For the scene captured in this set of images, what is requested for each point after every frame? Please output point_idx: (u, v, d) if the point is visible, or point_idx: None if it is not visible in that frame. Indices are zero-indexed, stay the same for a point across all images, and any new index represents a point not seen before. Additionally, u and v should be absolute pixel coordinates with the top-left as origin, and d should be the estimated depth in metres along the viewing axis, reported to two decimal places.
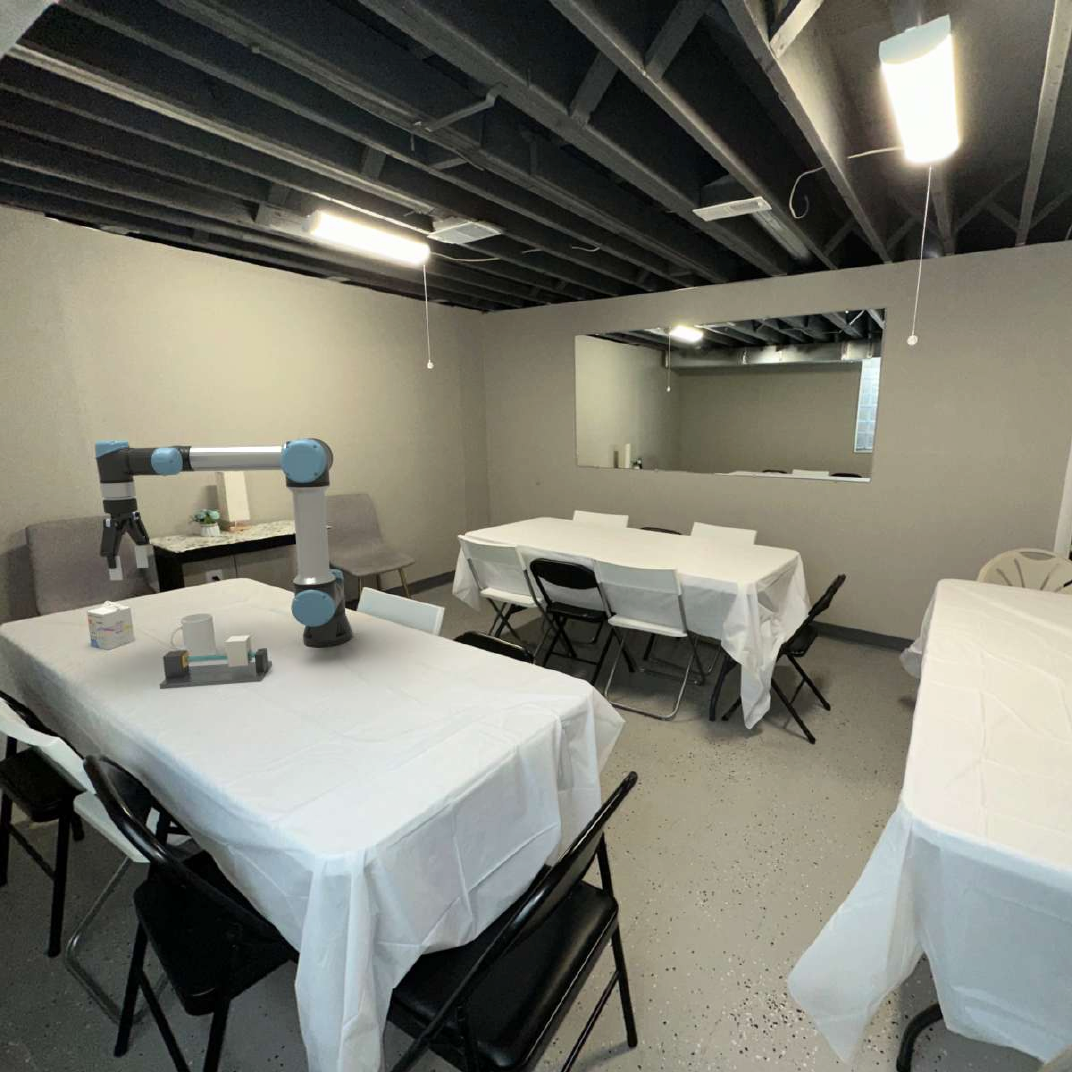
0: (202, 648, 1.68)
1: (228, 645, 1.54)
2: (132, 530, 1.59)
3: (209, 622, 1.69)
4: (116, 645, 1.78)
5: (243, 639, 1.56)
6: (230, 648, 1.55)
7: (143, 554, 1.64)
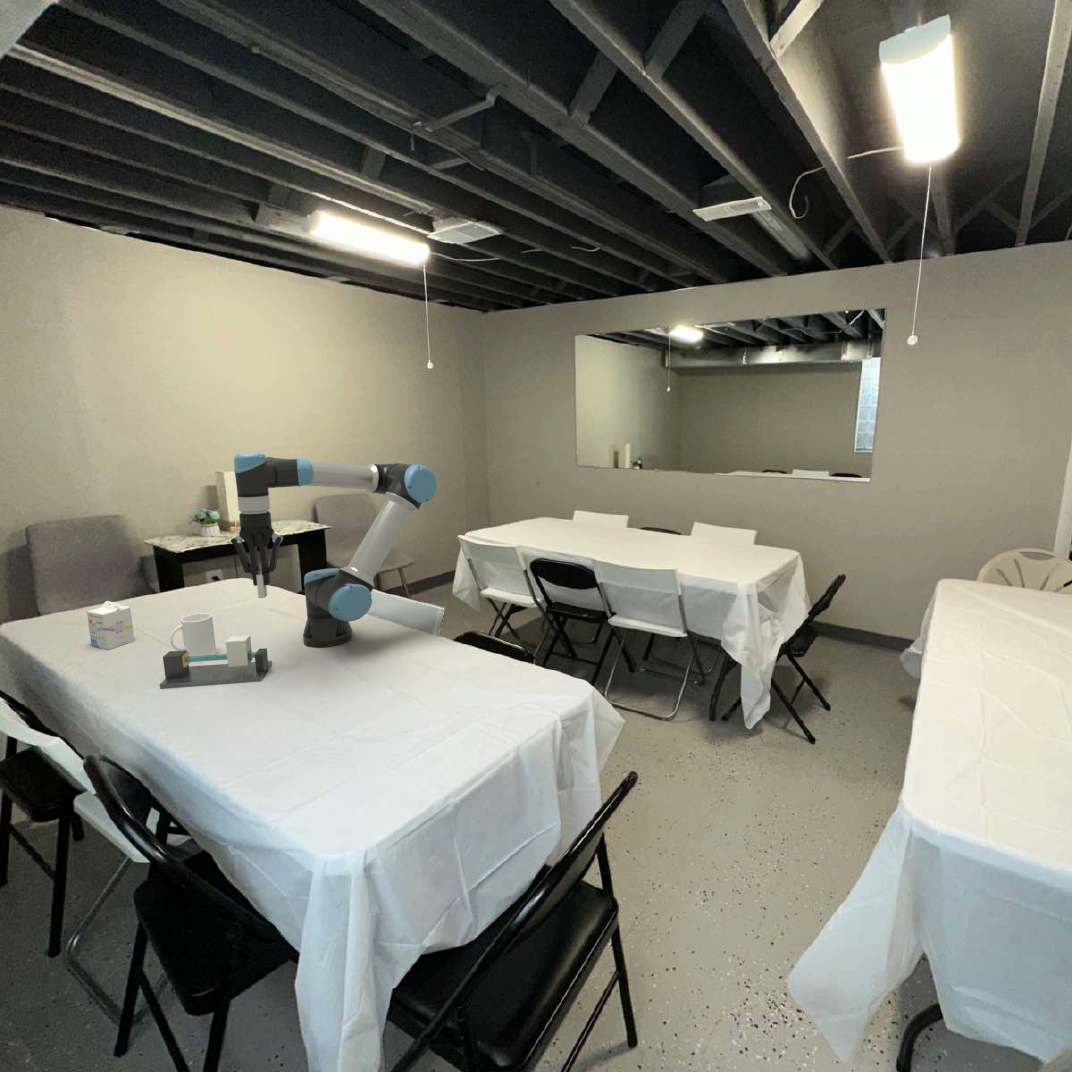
0: (202, 648, 1.68)
1: (228, 645, 1.54)
2: None
3: (209, 622, 1.69)
4: (116, 645, 1.78)
5: (243, 639, 1.56)
6: (230, 648, 1.55)
7: None
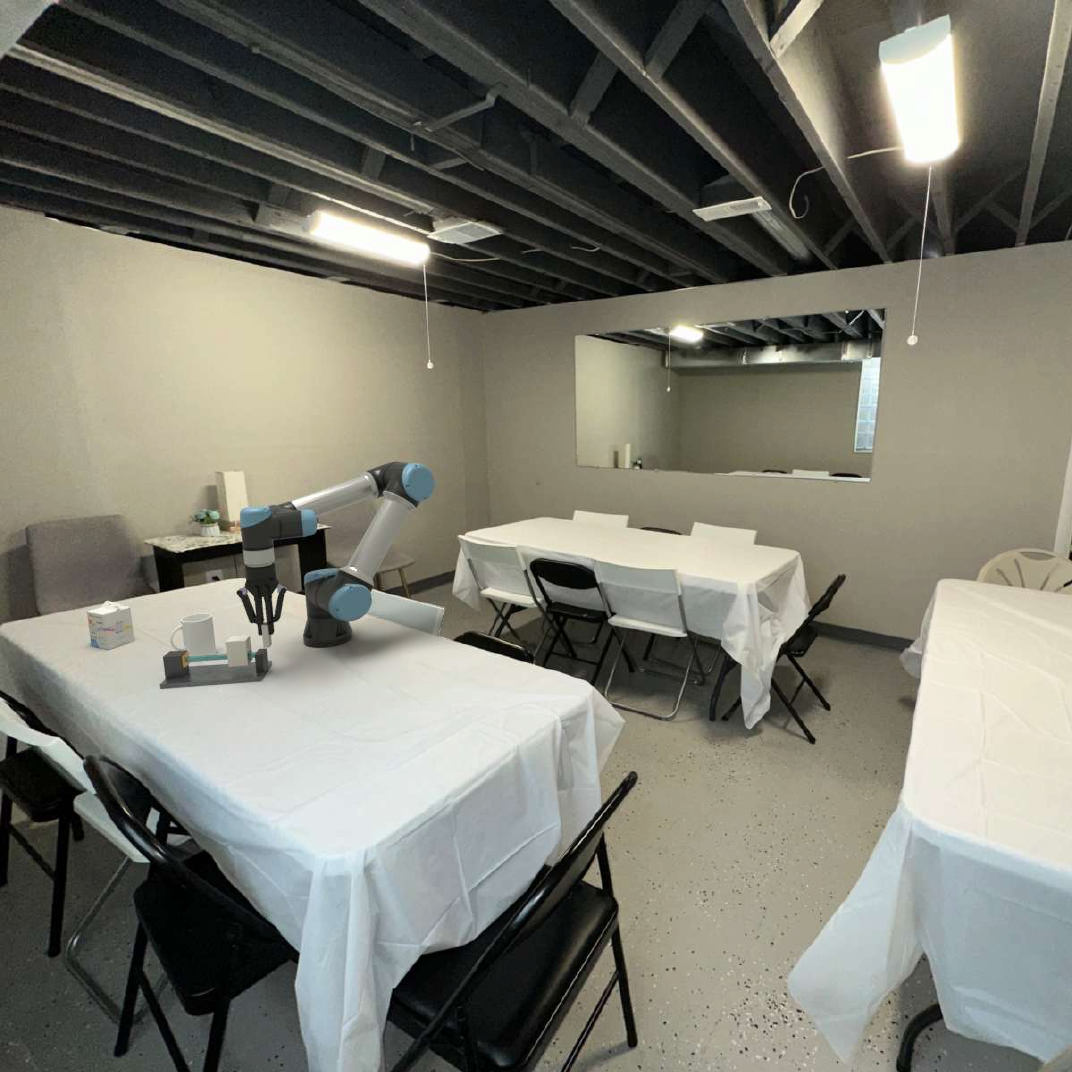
0: (202, 648, 1.68)
1: (228, 645, 1.54)
2: None
3: (209, 622, 1.69)
4: (116, 645, 1.78)
5: (243, 639, 1.56)
6: (230, 648, 1.55)
7: None
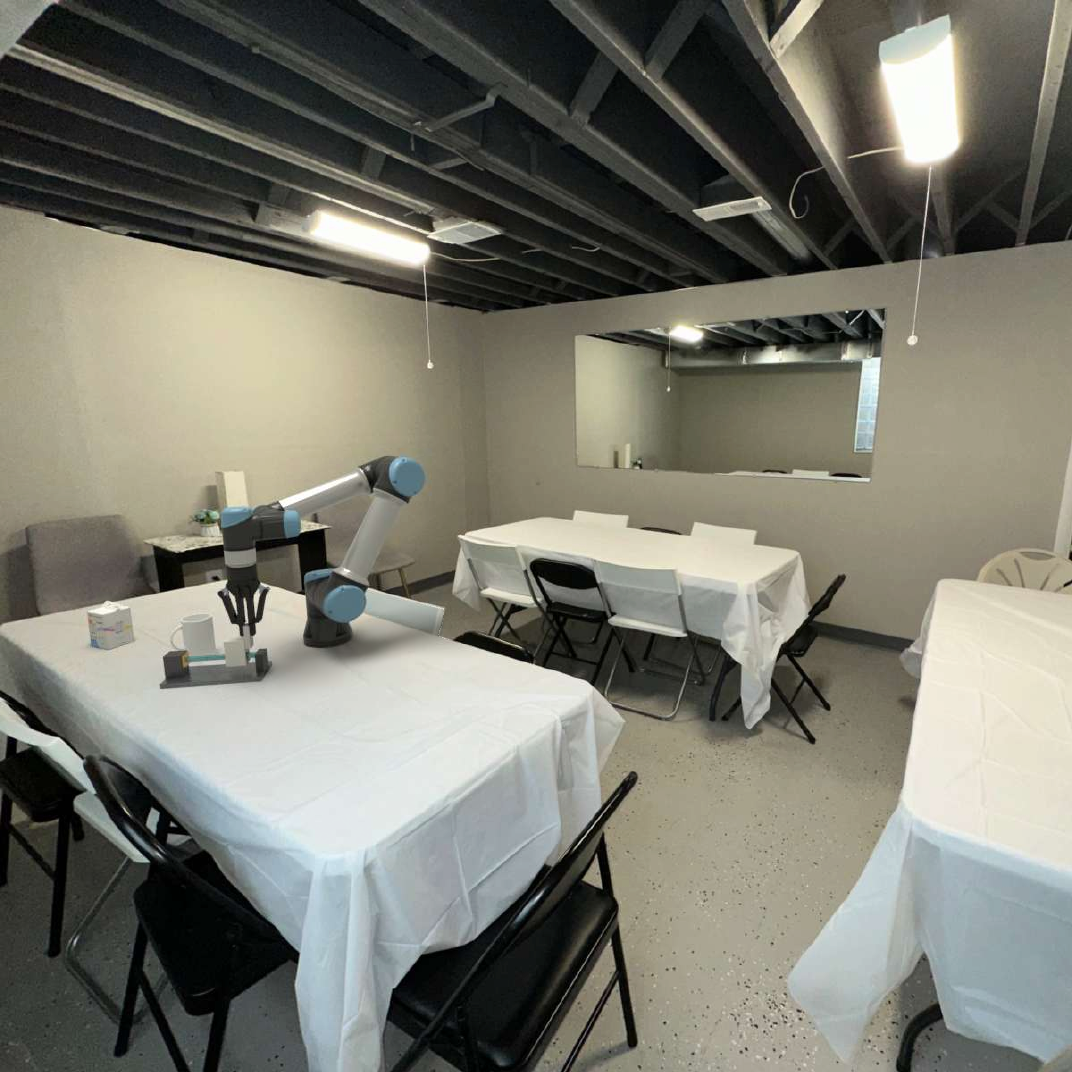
0: (202, 648, 1.68)
1: (226, 645, 1.54)
2: None
3: (209, 622, 1.69)
4: (116, 645, 1.78)
5: (241, 639, 1.56)
6: (228, 648, 1.55)
7: None
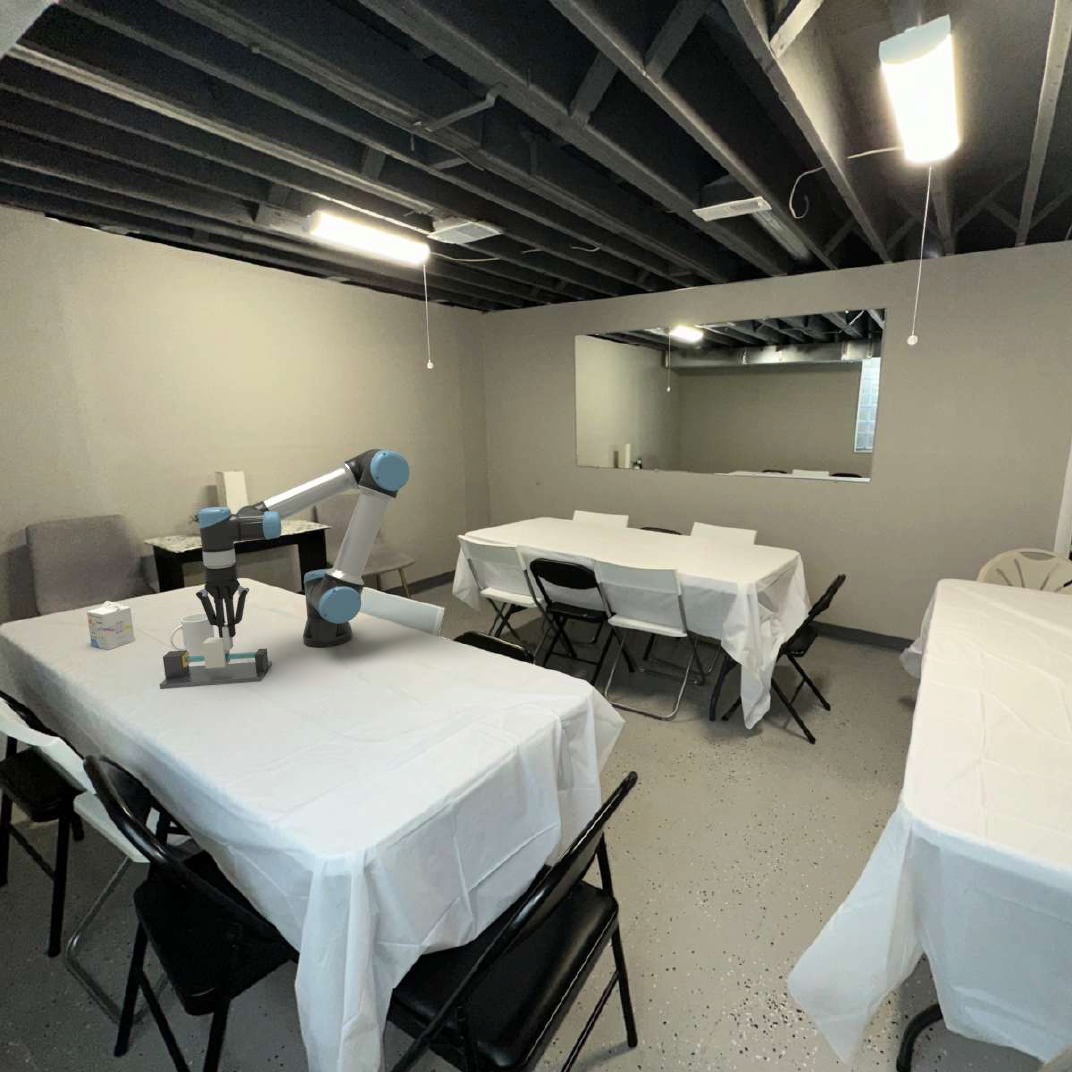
0: (202, 648, 1.68)
1: (205, 647, 1.53)
2: None
3: None
4: (116, 645, 1.78)
5: (220, 640, 1.55)
6: (207, 649, 1.54)
7: None
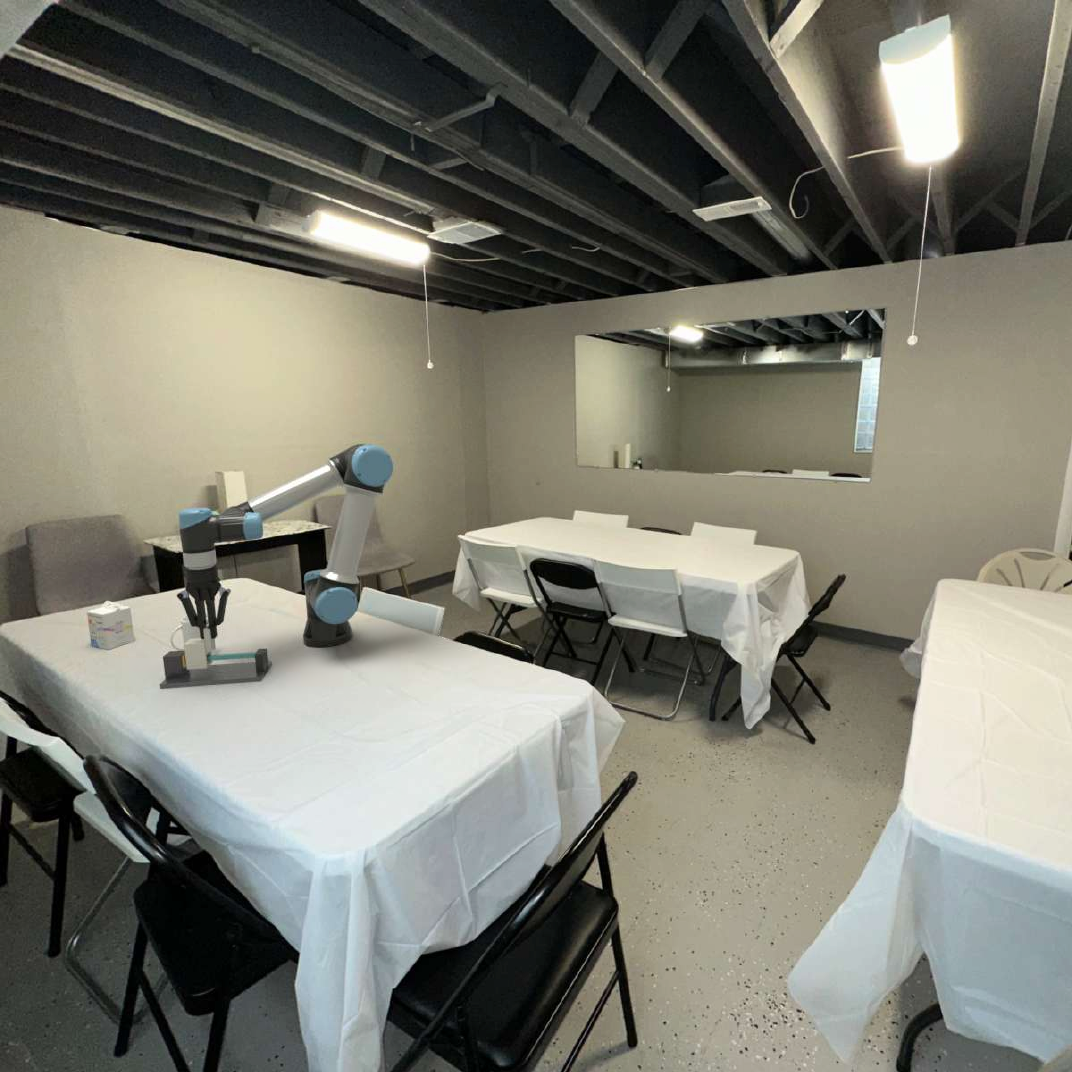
0: None
1: (186, 648, 1.53)
2: None
3: None
4: (116, 645, 1.78)
5: (202, 642, 1.54)
6: (189, 651, 1.53)
7: None
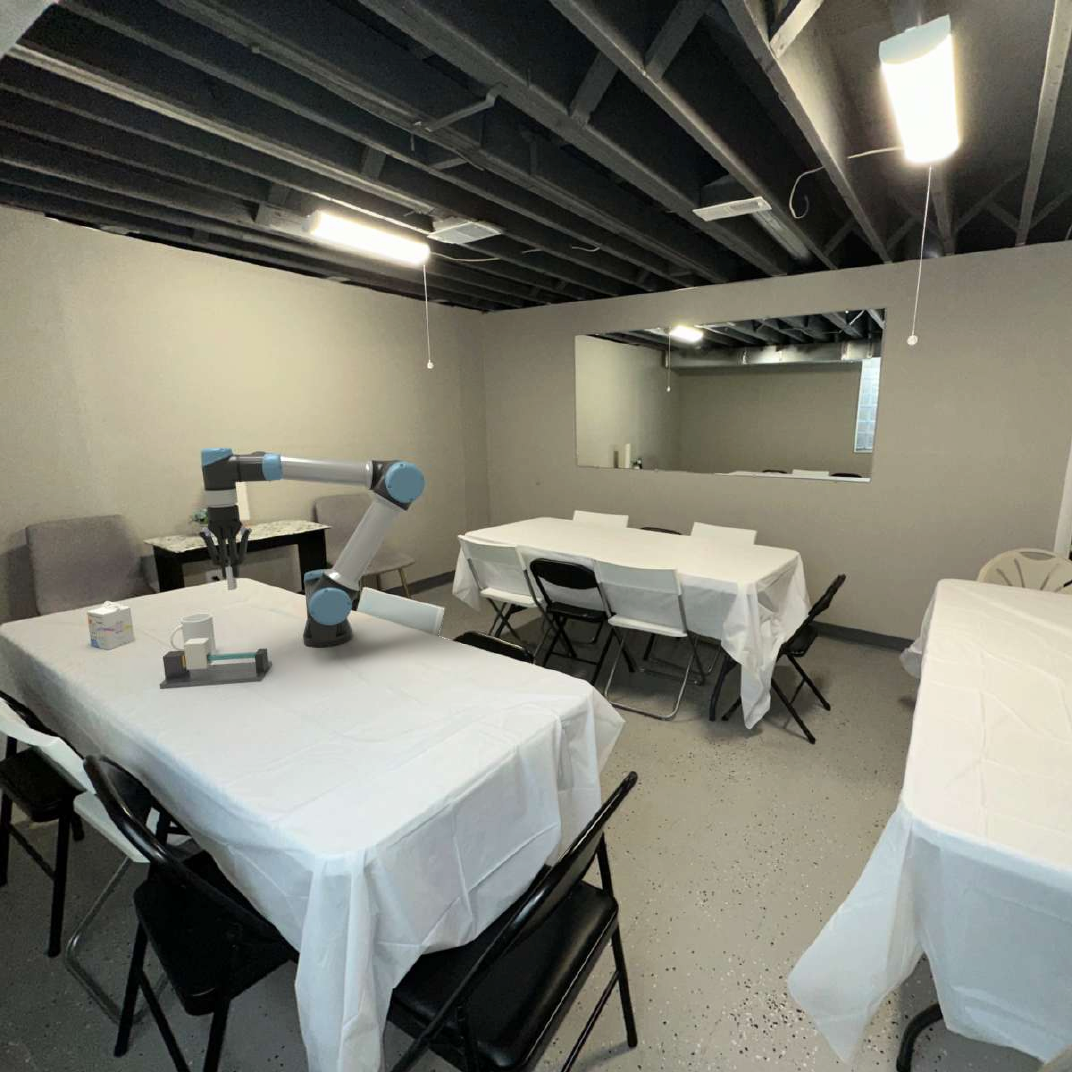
0: None
1: (186, 648, 1.53)
2: None
3: (209, 622, 1.69)
4: (116, 645, 1.78)
5: (202, 642, 1.54)
6: (189, 651, 1.53)
7: None
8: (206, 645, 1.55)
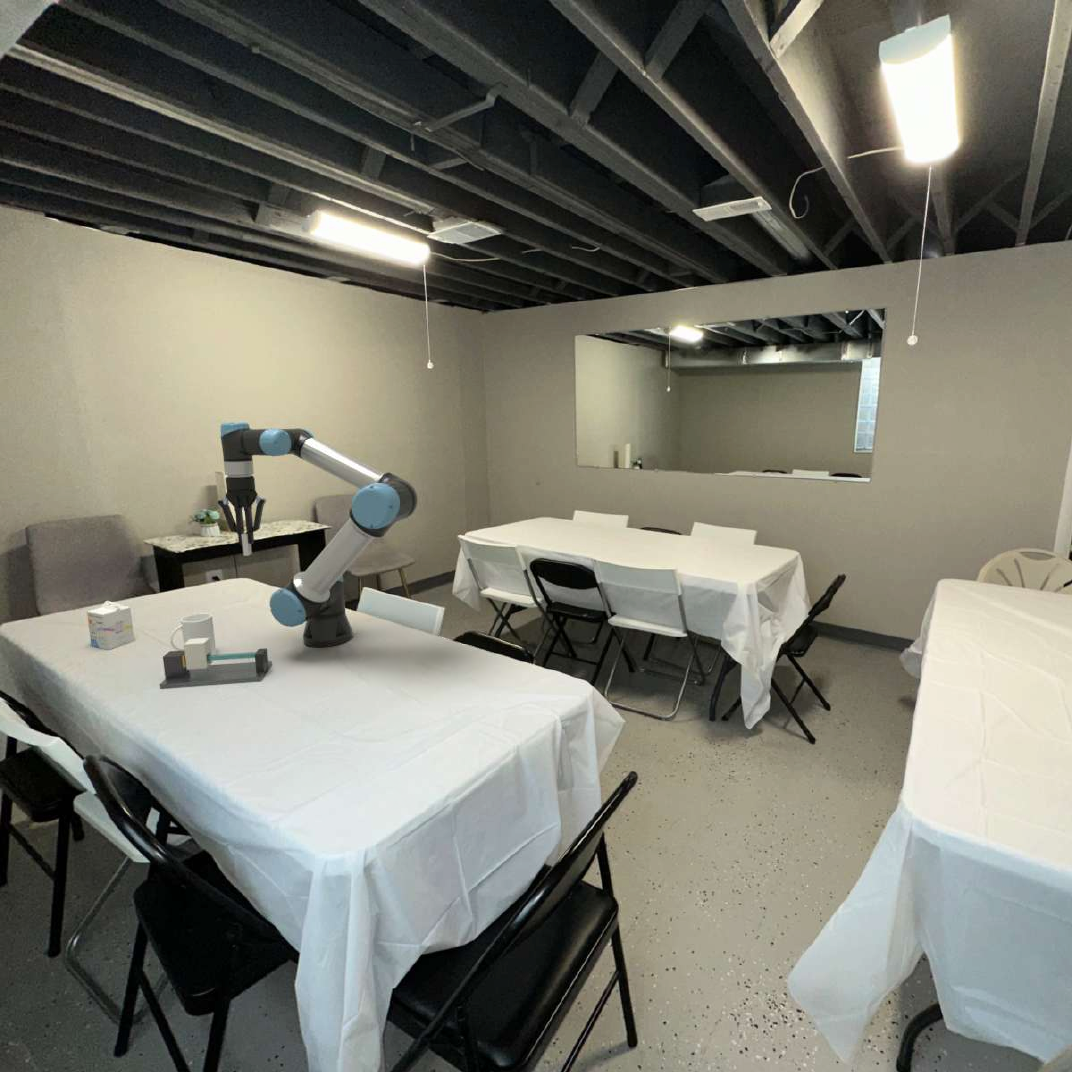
0: None
1: (186, 648, 1.53)
2: None
3: (209, 622, 1.70)
4: (116, 645, 1.78)
5: (202, 642, 1.54)
6: (189, 651, 1.53)
7: None
8: (206, 645, 1.55)
